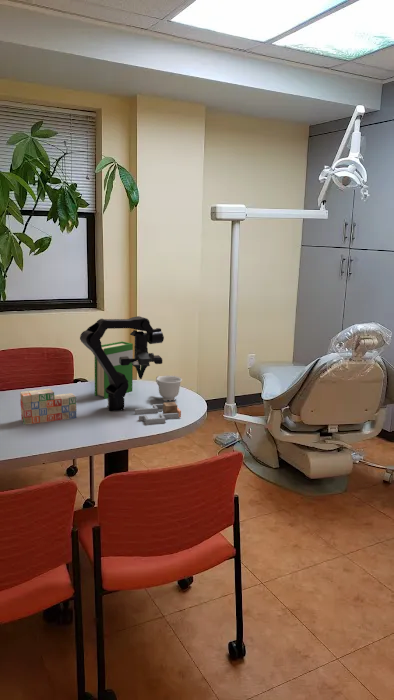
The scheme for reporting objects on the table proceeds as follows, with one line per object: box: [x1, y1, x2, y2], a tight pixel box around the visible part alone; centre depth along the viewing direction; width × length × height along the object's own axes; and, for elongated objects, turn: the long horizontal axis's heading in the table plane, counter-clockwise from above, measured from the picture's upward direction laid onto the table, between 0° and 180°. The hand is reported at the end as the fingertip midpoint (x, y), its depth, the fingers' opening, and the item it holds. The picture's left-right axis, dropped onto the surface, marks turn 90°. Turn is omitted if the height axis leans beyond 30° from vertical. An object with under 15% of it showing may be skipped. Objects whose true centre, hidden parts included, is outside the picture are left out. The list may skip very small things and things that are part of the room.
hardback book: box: [94, 340, 134, 400], centre depth 261 cm, size 18×7×24 cm, turn 141°
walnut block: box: [162, 401, 178, 414], centre depth 235 cm, size 5×5×5 cm
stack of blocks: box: [19, 388, 77, 425], centre depth 224 cm, size 21×6×12 cm, turn 118°
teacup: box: [155, 375, 183, 401], centre depth 257 cm, size 12×15×10 cm
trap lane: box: [134, 403, 182, 425], centre depth 233 cm, size 18×19×3 cm
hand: (140, 378), depth 246 cm, fingers closed
